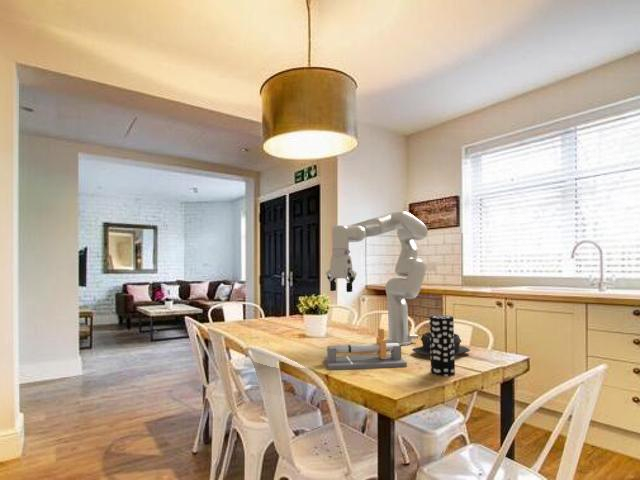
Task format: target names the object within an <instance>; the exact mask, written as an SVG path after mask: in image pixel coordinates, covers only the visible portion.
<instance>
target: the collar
mask: <svg viewBox="0 0 640 480" xmlns="http://www.w3.org/2000/svg"><path fill="white" fill-rule="evenodd" d="M376 344H380V351H379V352H376V355H378V356H379V357H380V358H381V359H385V358H386V354H387V351H386V339H385V329H384V328H383V327H378V328H377V336H376Z"/></svg>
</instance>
